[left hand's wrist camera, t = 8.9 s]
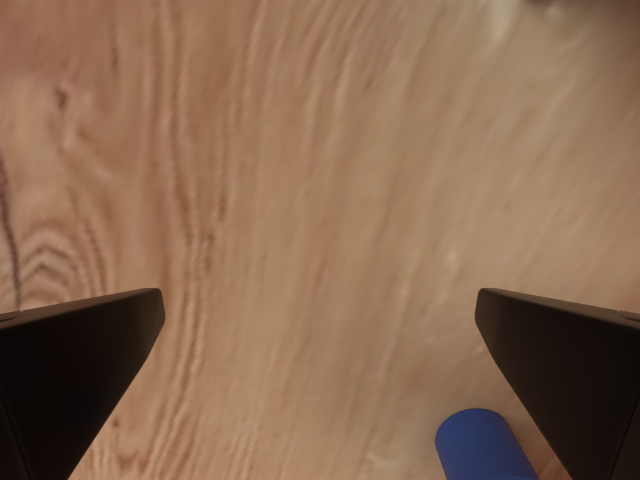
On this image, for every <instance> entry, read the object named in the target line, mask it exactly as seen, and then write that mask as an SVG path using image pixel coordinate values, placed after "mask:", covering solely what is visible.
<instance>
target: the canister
mask: <svg viewBox="0 0 640 480" xmlns="http://www.w3.org/2000/svg"><path fill="white" fill-rule="evenodd" d="M435 445H436V449H437V452H438V455H439V458H440V461H441V464H442V466H443V469H444V472H445V475H446V478H447V480H540V479H539V477H538V475H537V474H536V472H535V470H534V469H533V467H532V465H531V463H530V462H529V460H528V458H527V457H526V455H525V453H524V451H523V450H522V448H521V446H520V444H519V443H518V441H517V439H516V438H515V436H514V434H513V432H512V431H511V429H510V427H509V426H508V424H507V422H506V421H505V420H504V419H503V418H502V417H501V416H500V415H499V414H497V413H495V412H493V411H490V410H486V409H469V410H464V411H461V412H459V413H456V414H454V415H452V416H451V417H449V418H448V419H447V420H446V421H444V423H443V424H442V425H441V426H440V428H439V429H438V431H437V434H436V438H435Z"/></svg>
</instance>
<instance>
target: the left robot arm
mask: <svg viewBox="0 0 640 480" xmlns="http://www.w3.org/2000/svg"><path fill="white" fill-rule="evenodd" d="M164 322H165V310H164V304H163V297H162V292H161V290H160V289H158V288H143V289H138V290H132V291H127V292H122V293H116V294H111V295H105V296H100V297H94V298H89V299H83V300H78V301H72V302H67V303H61V304H56V305H50V306H45V307H39V308H34V309H28V310H23V311H22V312H21V311H14V312H9V313H3V314H0V480H68V478H69V477H70V475H71V474H72V472H73V471H74V469H75V468H76V466H77V465H78V463H79V462H80V460H81V459H82V457H83V456H84V454H85V453H86V451H87V449H88V448H89V446H90V445H91V443H92V442H93V440H94V439H95V437H96V436H97V434H98V433H99V431H100V430H101V428H102V427H103V425H104V424H105V422H106V421H107V419H108V418H109V416H110V414H111V413H112V411H113V410H114V408H115V407H116V405H117V404H118V402H119V401H120V399H121V398H122V396H123V395H124V393H125V392H126V390H127V389H128V387H129V386H130V384H131V383H132V381H133V379H134V378H135V376H136V375H137V373H138V372H139V370H140V369H141V367H142V366H143V364H144V363H145V361H146V359H147V357H148V356H149V354H150V352H151V350H152V348H153V345H154V343H155V341H156V339H157V337H158V335H159V333H160V331H161V329H162V327H163V325H164ZM475 322H476V325H477V327H478V329H479V331H480V333H481V335H482V337H483V339H484V341H485V343H486V345H487V348H488V350H489V352H490V354H491V356H492V357H493V359H494V361H495V363H496V364H497V366H498V367H499V369H500V370H501V372H502V373H503V375H504V376H505V378H506V380H507V381H508V383H509V384H510V386H511V387H512V389H513V390H514V392H515V393H516V395H517V396H518V398H519V399H520V401H521V402H522V404H523V405H524V407H525V408H526V410H527V411H528V413H529V414H530V416H531V417H532V419H533V421H534V422H535V424H536V425H537V427H538V428H539V430H540V431H541V433H542V434H543V436H544V437H545V439H546V440H547V442H548V443H549V445H550V446H551V448H552V449H553V451H554V452H555V454H556V456H557V457H558V459H559V460H560V462H561V463H562V465H563V466H564V468H565V469H566V471H567V472H568V474H569V475H570V477H571V478H572V480H640V314H637V313H631V312H625V311H619V312H618V311H617V310H612V309H606V308H601V307H595V306H590V305H584V304H579V303H573V302H568V301H562V300H557V299H551V298H546V297H541V296H535V295H530V294H524V293H519V292H513V291H508V290H502V289H497V288H482V289H480V290H479V292H478V297H477V303H476V310H475Z"/></svg>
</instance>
